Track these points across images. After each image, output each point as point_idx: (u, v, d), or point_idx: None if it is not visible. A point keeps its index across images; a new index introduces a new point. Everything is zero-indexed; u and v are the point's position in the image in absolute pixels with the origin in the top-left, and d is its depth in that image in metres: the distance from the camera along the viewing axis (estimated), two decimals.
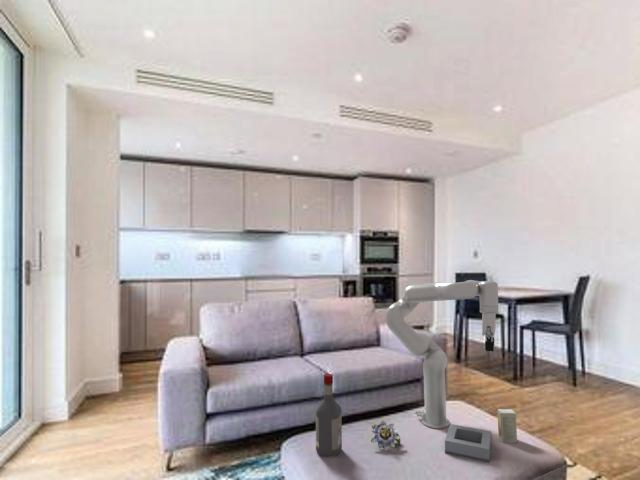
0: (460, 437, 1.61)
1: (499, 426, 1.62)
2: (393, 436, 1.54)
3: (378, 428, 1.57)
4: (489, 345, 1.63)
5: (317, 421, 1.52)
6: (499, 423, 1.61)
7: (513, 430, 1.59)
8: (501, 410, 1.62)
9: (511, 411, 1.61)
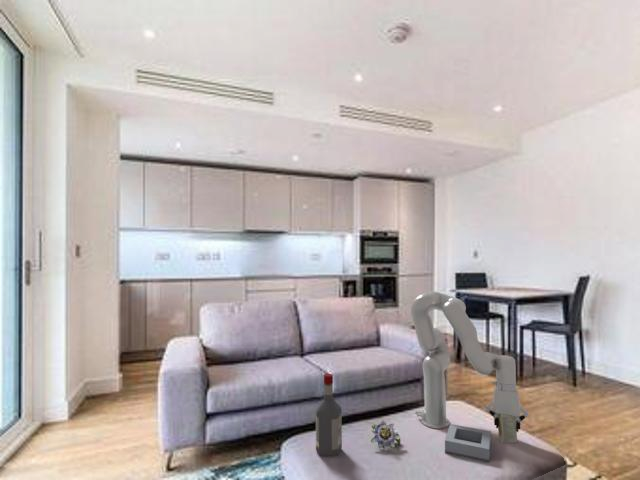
0: (460, 437, 1.61)
1: (499, 426, 1.62)
2: (393, 436, 1.54)
3: (378, 428, 1.57)
4: None
5: (317, 421, 1.52)
6: (499, 423, 1.61)
7: (514, 430, 1.59)
8: None
9: None
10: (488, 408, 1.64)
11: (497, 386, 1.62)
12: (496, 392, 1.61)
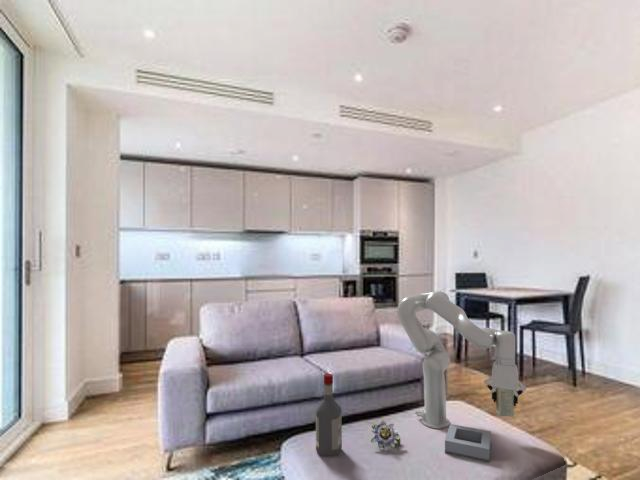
0: (460, 437, 1.61)
1: (496, 400, 1.62)
2: (393, 436, 1.54)
3: (378, 428, 1.57)
4: (517, 399, 1.60)
5: (317, 421, 1.52)
6: (497, 397, 1.62)
7: (511, 404, 1.60)
8: None
9: None
10: (486, 382, 1.65)
11: (496, 361, 1.62)
12: (495, 366, 1.62)
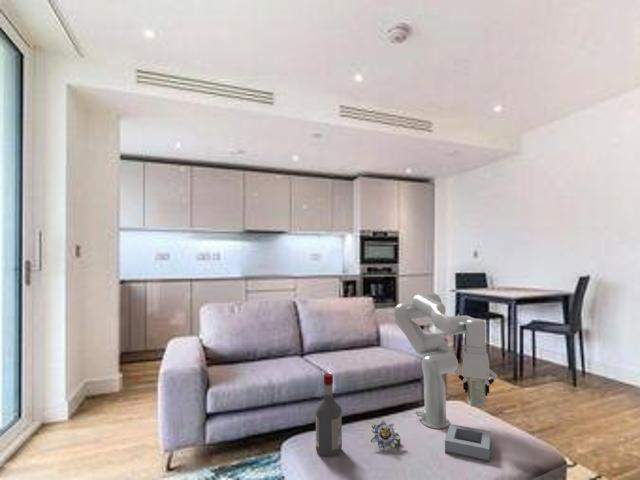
0: (460, 437, 1.61)
1: (468, 390, 1.57)
2: (393, 436, 1.54)
3: (378, 428, 1.57)
4: None
5: (317, 421, 1.52)
6: (468, 387, 1.57)
7: (482, 394, 1.55)
8: None
9: None
10: (457, 372, 1.59)
11: (467, 349, 1.57)
12: (465, 356, 1.57)
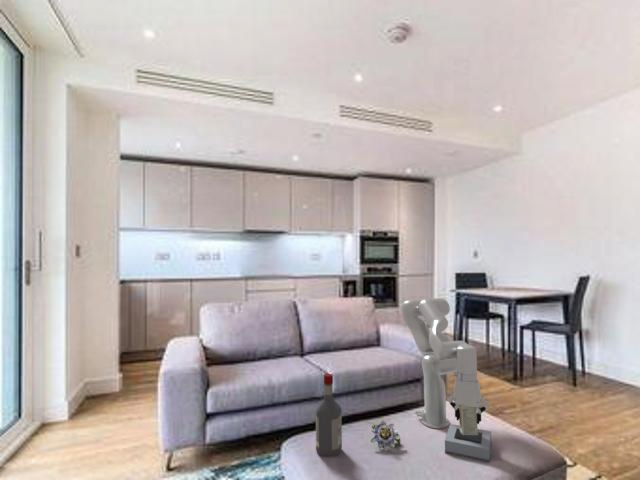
0: (460, 437, 1.61)
1: (460, 418, 1.55)
2: (393, 436, 1.54)
3: (378, 428, 1.57)
4: None
5: (317, 421, 1.52)
6: (460, 415, 1.55)
7: (474, 422, 1.53)
8: None
9: None
10: (449, 399, 1.58)
11: (458, 376, 1.55)
12: (456, 383, 1.55)
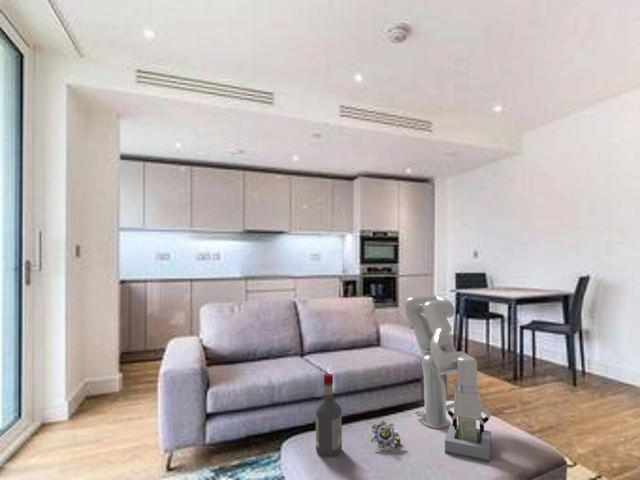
0: None
1: (459, 431, 1.56)
2: (393, 436, 1.54)
3: (378, 428, 1.57)
4: (483, 427, 1.52)
5: (317, 421, 1.52)
6: (459, 427, 1.55)
7: (473, 435, 1.53)
8: None
9: None
10: (447, 408, 1.58)
11: (458, 388, 1.55)
12: (457, 394, 1.55)
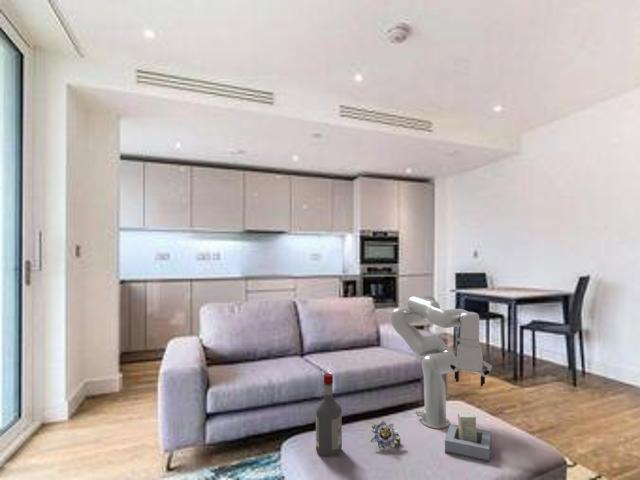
0: None
1: (459, 431, 1.56)
2: (393, 436, 1.54)
3: (378, 428, 1.57)
4: (484, 379, 1.57)
5: (317, 421, 1.52)
6: (459, 427, 1.55)
7: (473, 435, 1.53)
8: (461, 414, 1.56)
9: (472, 415, 1.55)
10: (450, 362, 1.63)
11: (460, 342, 1.60)
12: (459, 348, 1.60)
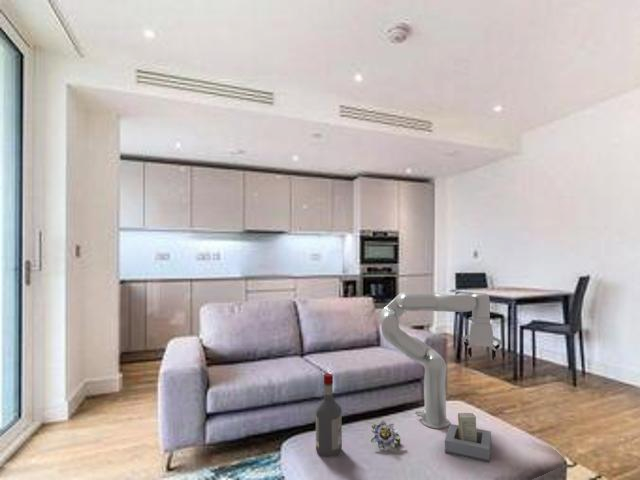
0: None
1: (459, 431, 1.56)
2: (393, 436, 1.54)
3: (378, 428, 1.57)
4: (495, 353, 1.75)
5: (317, 421, 1.52)
6: (459, 427, 1.55)
7: (473, 435, 1.53)
8: (461, 414, 1.56)
9: (472, 415, 1.55)
10: (463, 339, 1.80)
11: (473, 320, 1.78)
12: (472, 325, 1.77)
